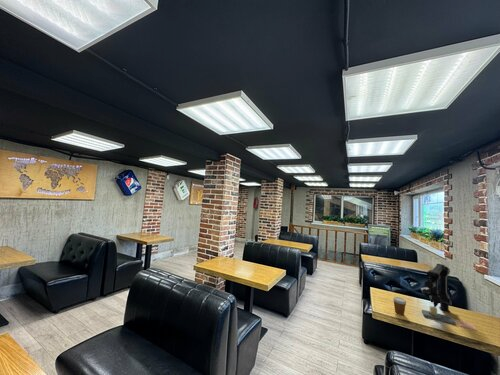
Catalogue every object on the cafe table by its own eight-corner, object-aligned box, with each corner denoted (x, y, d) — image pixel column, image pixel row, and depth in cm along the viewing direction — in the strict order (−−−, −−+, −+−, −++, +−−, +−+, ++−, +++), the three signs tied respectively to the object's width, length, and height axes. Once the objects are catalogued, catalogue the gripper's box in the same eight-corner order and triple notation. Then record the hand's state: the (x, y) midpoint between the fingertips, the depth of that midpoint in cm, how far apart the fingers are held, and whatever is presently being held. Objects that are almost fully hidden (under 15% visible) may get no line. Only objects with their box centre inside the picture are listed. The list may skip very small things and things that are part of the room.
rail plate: (421, 311, 184) (421, 309, 184) (451, 319, 174) (451, 316, 174) (424, 316, 176) (424, 314, 176) (456, 325, 166) (455, 322, 166)
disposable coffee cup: (400, 317, 173) (400, 302, 174) (390, 311, 182) (390, 297, 183) (409, 316, 176) (409, 301, 176) (398, 310, 185) (398, 296, 185)
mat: (454, 320, 173) (454, 319, 173) (471, 324, 168) (471, 323, 168) (459, 325, 165) (459, 325, 165) (477, 330, 160) (477, 329, 160)
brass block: (429, 315, 179) (429, 305, 180) (435, 316, 177) (435, 307, 178) (430, 317, 176) (430, 307, 176) (437, 318, 174) (436, 309, 174)
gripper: (419, 280, 190) (419, 297, 189) (424, 287, 174) (424, 306, 173) (434, 283, 185) (435, 301, 184) (441, 290, 169) (441, 310, 168)
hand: (433, 304), depth 177 cm, fingers open, 9 cm apart
